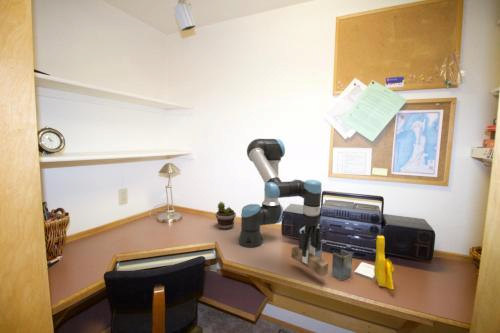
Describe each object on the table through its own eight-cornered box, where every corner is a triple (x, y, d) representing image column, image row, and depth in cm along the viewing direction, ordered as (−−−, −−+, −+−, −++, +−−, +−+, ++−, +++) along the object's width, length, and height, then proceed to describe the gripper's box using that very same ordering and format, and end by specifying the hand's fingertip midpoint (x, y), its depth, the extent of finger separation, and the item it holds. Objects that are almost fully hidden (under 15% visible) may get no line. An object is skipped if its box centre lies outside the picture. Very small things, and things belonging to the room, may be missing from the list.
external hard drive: (353, 274, 114) (361, 264, 123) (372, 281, 109) (378, 270, 118) (354, 271, 114) (361, 261, 123) (372, 277, 108) (378, 267, 118)
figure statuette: (398, 298, 96) (402, 247, 94) (376, 294, 99) (380, 244, 96) (387, 275, 113) (391, 231, 110) (369, 271, 115) (373, 228, 113)
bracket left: (304, 259, 127) (305, 239, 125) (313, 256, 131) (313, 237, 129) (312, 264, 122) (313, 243, 121) (321, 260, 126) (322, 240, 125)
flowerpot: (238, 224, 178) (238, 198, 176) (232, 232, 163) (232, 204, 161) (220, 222, 181) (220, 197, 179) (212, 230, 166) (212, 202, 164)
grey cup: (331, 275, 112) (332, 253, 111) (340, 270, 116) (342, 249, 115) (342, 280, 108) (343, 258, 106) (351, 276, 112) (352, 254, 110)
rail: (291, 257, 119) (291, 247, 118) (297, 255, 121) (297, 245, 120) (321, 276, 103) (322, 266, 102) (327, 273, 105) (328, 263, 104)
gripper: (304, 219, 101) (301, 270, 104) (329, 212, 110) (326, 259, 113) (292, 214, 107) (289, 262, 110) (317, 208, 116) (314, 252, 120)
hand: (308, 260), depth 112 cm, fingers closed on rail, 4 cm apart
